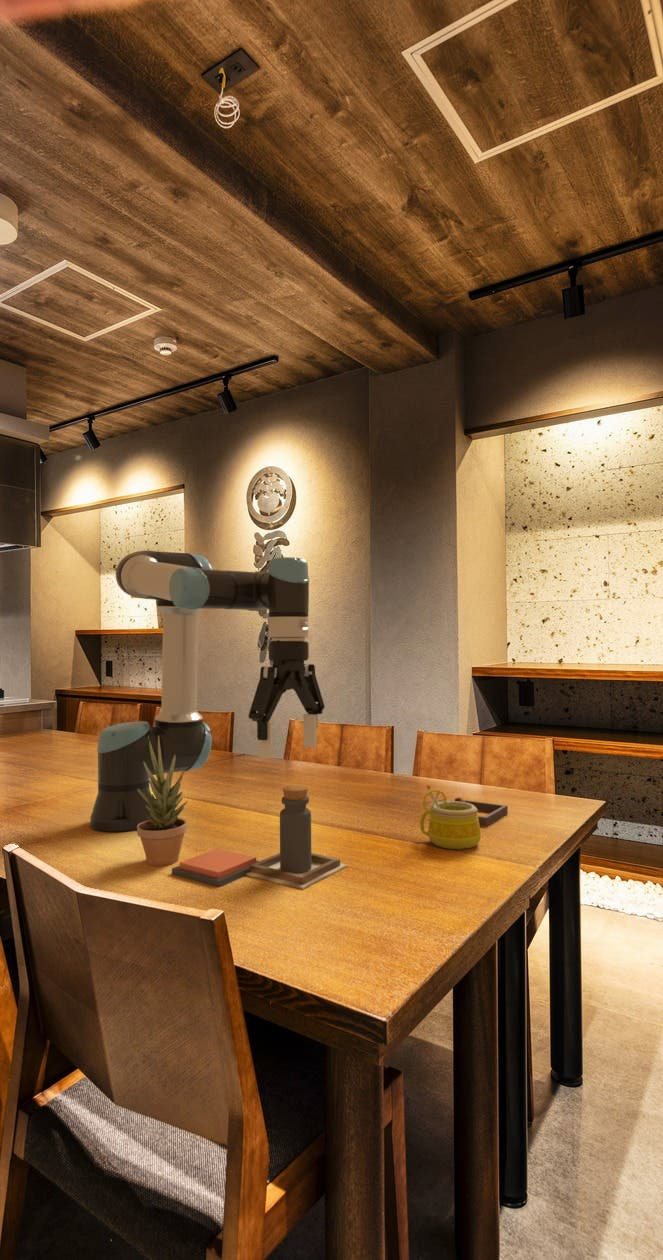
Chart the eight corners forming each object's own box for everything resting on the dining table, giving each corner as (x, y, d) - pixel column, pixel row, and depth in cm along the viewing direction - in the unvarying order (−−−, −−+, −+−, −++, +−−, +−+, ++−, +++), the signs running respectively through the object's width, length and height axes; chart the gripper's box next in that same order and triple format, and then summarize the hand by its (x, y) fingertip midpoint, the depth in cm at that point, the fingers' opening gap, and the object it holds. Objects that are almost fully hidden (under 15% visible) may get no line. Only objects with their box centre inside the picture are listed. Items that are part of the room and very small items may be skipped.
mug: (485, 840, 145) (485, 783, 145) (474, 855, 135) (473, 794, 135) (427, 833, 150) (427, 779, 150) (412, 847, 140) (411, 789, 140)
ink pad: (171, 873, 125) (171, 862, 125) (217, 856, 135) (217, 846, 135) (219, 886, 118) (219, 875, 118) (264, 867, 128) (263, 856, 128)
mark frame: (242, 874, 124) (242, 865, 124) (289, 853, 136) (289, 846, 136) (303, 889, 117) (303, 880, 117) (347, 866, 128) (347, 858, 128)
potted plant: (134, 857, 135) (133, 733, 135) (182, 850, 139) (181, 730, 139) (141, 872, 126) (140, 739, 126) (192, 865, 129) (191, 736, 130)
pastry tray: (432, 818, 162) (432, 809, 162) (456, 806, 174) (455, 798, 174) (486, 826, 155) (486, 817, 155) (507, 813, 166) (507, 805, 166)
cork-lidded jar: (307, 874, 123) (307, 791, 123) (276, 872, 124) (275, 790, 124) (314, 864, 129) (313, 785, 129) (284, 862, 130) (284, 784, 130)
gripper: (261, 640, 115) (261, 765, 115) (341, 639, 136) (341, 745, 136) (228, 640, 120) (228, 760, 120) (311, 639, 140) (311, 741, 140)
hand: (288, 752), depth 128 cm, fingers open, 13 cm apart
